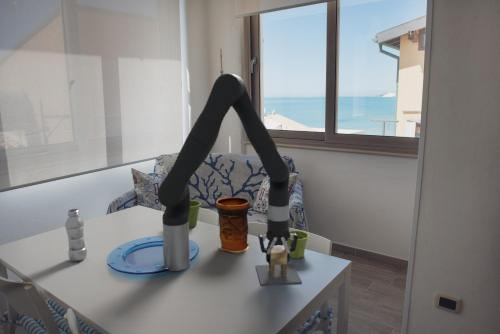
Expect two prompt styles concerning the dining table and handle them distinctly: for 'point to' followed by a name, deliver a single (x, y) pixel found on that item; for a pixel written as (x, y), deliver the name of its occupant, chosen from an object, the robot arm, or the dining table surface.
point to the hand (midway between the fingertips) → (277, 262)
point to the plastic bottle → (75, 236)
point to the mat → (277, 275)
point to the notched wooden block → (278, 260)
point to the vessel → (233, 223)
